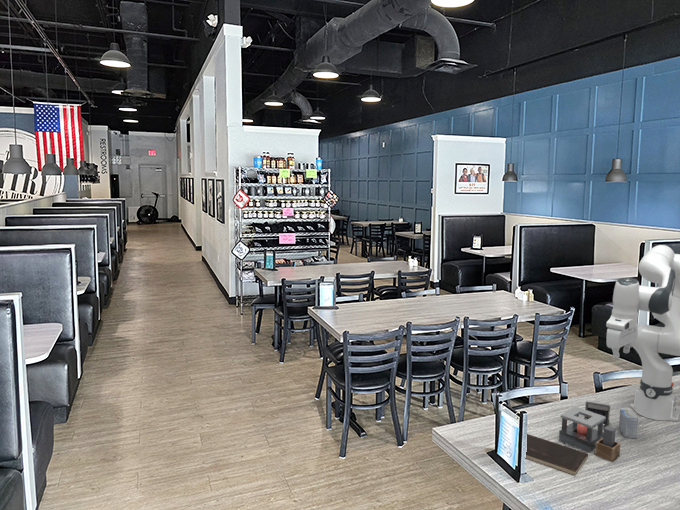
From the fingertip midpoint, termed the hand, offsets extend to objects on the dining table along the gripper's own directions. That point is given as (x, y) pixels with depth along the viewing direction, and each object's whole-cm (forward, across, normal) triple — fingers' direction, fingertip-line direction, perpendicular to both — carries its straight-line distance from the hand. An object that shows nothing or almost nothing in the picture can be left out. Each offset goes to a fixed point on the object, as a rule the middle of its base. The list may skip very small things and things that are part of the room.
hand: (621, 355), depth 196 cm
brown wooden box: (+34, +16, +4) cm, 38 cm away
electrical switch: (+34, -8, -10) cm, 37 cm away
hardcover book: (+35, +32, -10) cm, 49 cm away
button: (+32, +13, -7) cm, 36 cm away
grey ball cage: (+34, +13, -7) cm, 37 cm away
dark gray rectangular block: (+34, +16, +4) cm, 37 cm away
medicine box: (+34, -8, +2) cm, 35 cm away
